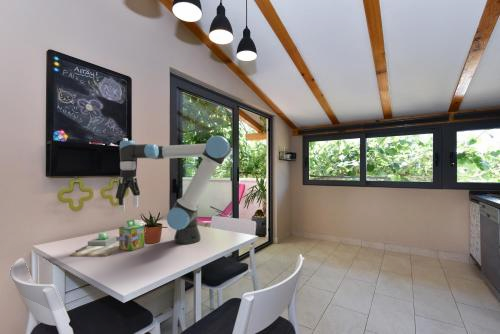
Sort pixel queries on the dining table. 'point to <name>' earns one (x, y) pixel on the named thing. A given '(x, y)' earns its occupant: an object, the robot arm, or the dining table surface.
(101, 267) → the dining table surface
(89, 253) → the clipboard
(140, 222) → the mug
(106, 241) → the button base
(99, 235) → the button
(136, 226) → the chalk box
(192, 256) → the dining table surface
